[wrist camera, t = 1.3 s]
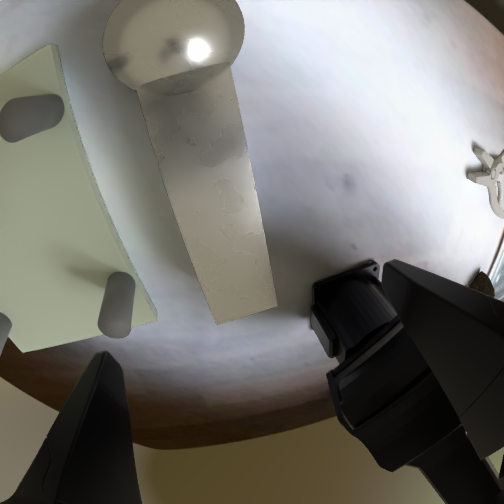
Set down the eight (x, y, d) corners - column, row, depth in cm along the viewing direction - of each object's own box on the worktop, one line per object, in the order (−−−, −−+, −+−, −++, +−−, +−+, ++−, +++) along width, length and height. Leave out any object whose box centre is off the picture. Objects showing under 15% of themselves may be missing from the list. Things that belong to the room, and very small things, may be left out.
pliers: (510, 222, 26) (465, 212, 22) (503, 217, 28) (454, 205, 23) (530, 157, 21) (489, 121, 17) (521, 153, 23) (477, 117, 19)
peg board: (57, 45, 10) (16, 33, 5) (157, 311, 21) (157, 363, 17) (-77, 156, 8) (-115, 179, 4) (25, 344, 19) (12, 386, 15)
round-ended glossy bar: (218, -8, 10) (230, -34, 7) (274, 266, 21) (292, 301, 18) (112, 20, 10) (93, 0, 7) (195, 289, 21) (201, 329, 17)
